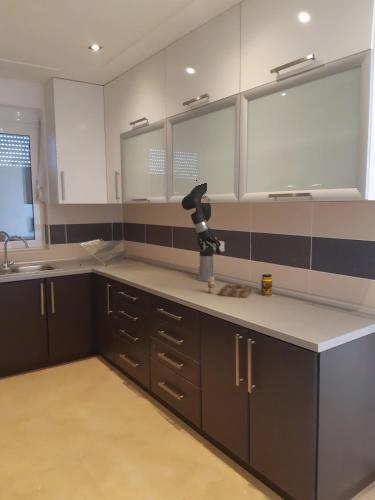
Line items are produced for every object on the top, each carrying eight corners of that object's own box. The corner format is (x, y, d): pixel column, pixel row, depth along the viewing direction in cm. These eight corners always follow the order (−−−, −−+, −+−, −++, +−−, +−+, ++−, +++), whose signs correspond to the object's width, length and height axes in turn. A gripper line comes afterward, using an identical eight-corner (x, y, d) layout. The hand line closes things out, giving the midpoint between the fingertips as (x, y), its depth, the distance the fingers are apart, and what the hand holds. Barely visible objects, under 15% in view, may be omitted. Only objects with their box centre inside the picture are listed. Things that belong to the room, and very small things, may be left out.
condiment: (264, 297, 218) (264, 276, 217) (256, 294, 226) (256, 273, 225) (275, 296, 221) (276, 275, 219) (267, 292, 229) (267, 272, 227)
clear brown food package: (220, 296, 222) (220, 289, 221) (226, 290, 235) (226, 284, 234) (246, 298, 216) (246, 290, 216) (251, 292, 229) (251, 285, 229)
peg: (207, 293, 228) (206, 276, 227) (209, 292, 231) (209, 275, 230) (213, 294, 227) (213, 277, 225) (215, 292, 230) (215, 276, 229)
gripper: (215, 224, 216) (226, 250, 220) (198, 228, 227) (209, 252, 231) (207, 230, 212) (218, 256, 215) (190, 233, 222) (201, 258, 226)
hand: (214, 254), depth 223 cm, fingers open, 8 cm apart
